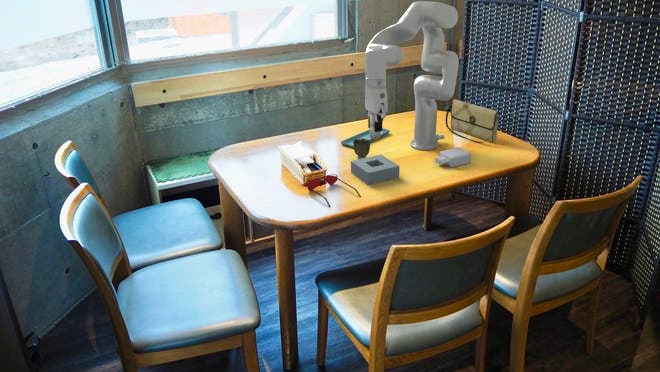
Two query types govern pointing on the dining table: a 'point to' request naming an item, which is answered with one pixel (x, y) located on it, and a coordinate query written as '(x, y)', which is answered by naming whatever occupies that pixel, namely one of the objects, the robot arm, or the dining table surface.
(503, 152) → the dining table surface
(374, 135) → the peg
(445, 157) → the charger
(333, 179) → the glasses
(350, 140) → the shallow long dish
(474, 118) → the clutch purse
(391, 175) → the socket block
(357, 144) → the cup
